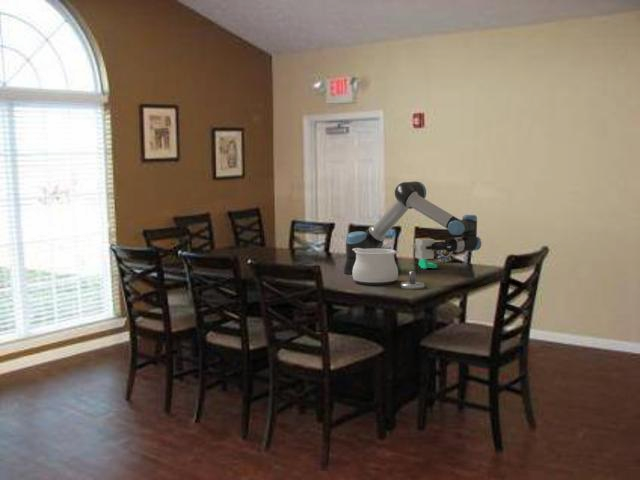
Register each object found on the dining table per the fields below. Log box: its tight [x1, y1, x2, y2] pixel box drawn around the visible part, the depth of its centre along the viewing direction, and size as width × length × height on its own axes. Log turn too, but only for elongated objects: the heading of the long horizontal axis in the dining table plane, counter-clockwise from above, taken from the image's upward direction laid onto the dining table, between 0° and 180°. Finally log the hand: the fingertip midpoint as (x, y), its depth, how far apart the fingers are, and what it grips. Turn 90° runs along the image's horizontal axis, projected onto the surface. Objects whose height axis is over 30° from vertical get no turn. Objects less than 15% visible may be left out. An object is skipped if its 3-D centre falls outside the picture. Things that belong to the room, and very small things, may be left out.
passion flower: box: [435, 250, 455, 264], centre depth 458 cm, size 11×11×12 cm
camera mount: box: [418, 258, 438, 270], centre depth 433 cm, size 12×8×10 cm, turn 13°
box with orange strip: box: [414, 237, 435, 260], centre depth 377 cm, size 7×7×11 cm
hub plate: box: [400, 271, 425, 290], centre depth 368 cm, size 12×12×8 cm
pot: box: [351, 248, 400, 286], centre depth 384 cm, size 28×24×17 cm
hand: (416, 247), depth 375 cm, fingers closed on box with orange strip, 7 cm apart
